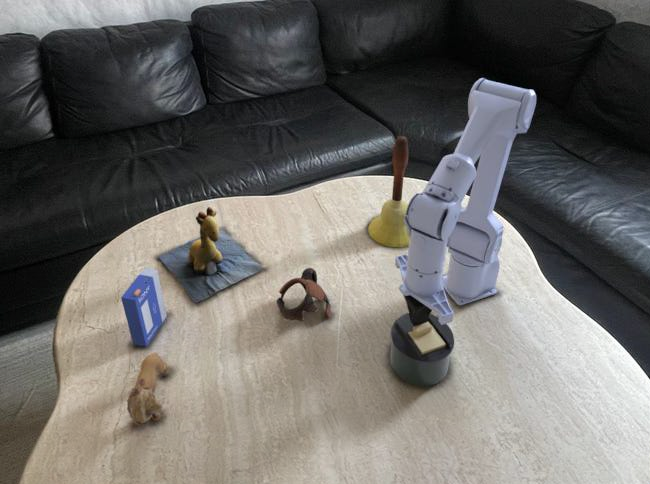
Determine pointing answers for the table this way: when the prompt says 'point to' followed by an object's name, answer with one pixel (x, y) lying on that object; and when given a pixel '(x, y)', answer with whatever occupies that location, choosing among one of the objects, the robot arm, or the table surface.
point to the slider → (426, 338)
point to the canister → (419, 353)
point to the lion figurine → (146, 390)
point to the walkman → (144, 306)
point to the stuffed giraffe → (209, 260)
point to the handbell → (393, 204)
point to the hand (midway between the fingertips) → (417, 322)
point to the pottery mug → (307, 305)
